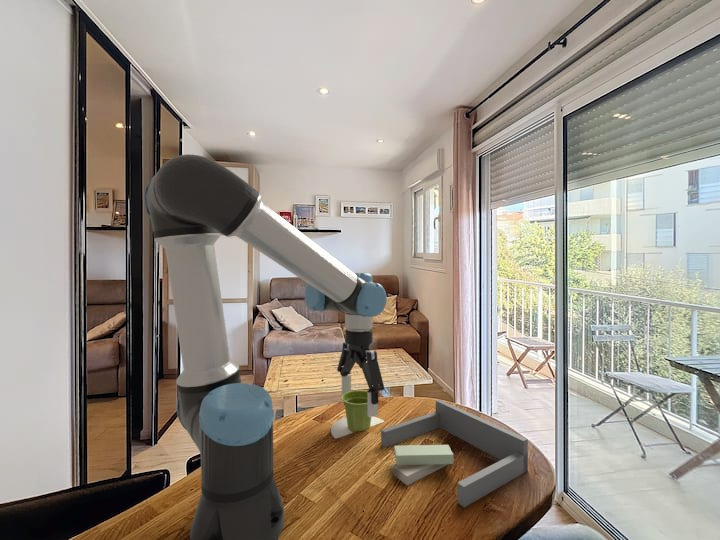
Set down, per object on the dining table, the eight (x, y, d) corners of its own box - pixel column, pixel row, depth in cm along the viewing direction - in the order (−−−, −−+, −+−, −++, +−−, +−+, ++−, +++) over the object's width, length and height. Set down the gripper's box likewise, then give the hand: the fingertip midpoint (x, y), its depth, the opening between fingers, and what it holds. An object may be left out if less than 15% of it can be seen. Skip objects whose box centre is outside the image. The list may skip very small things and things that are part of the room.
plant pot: (383, 428, 92) (383, 397, 91) (356, 440, 86) (356, 406, 85) (361, 417, 99) (361, 387, 99) (335, 427, 93) (334, 396, 93)
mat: (349, 452, 81) (349, 450, 81) (321, 426, 95) (321, 424, 95) (401, 434, 90) (401, 432, 90) (368, 412, 103) (368, 410, 103)
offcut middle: (392, 475, 70) (392, 465, 70) (438, 453, 78) (438, 445, 78) (407, 486, 67) (407, 476, 67) (453, 462, 75) (453, 453, 75)
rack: (464, 514, 60) (463, 470, 60) (381, 450, 82) (380, 417, 82) (527, 476, 71) (527, 439, 71) (439, 428, 93) (439, 399, 93)
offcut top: (394, 454, 75) (394, 445, 75) (448, 453, 75) (448, 444, 75) (396, 465, 71) (396, 455, 71) (453, 463, 71) (453, 454, 71)
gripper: (398, 335, 83) (397, 420, 83) (347, 322, 104) (347, 390, 104) (373, 338, 79) (373, 427, 79) (326, 323, 100) (325, 394, 100)
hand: (358, 406), depth 92 cm, fingers open, 13 cm apart
